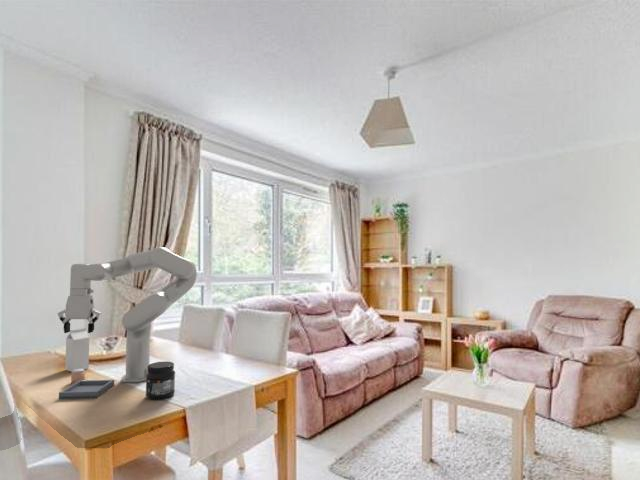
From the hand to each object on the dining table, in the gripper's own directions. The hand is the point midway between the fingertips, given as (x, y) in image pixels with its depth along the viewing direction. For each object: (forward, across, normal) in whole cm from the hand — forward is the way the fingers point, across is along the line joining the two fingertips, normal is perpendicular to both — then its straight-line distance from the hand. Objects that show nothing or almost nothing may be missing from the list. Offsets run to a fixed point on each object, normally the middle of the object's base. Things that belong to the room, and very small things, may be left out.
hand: (78, 332), depth 164 cm
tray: (+21, -10, +12) cm, 27 cm away
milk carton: (+22, +11, -20) cm, 31 cm away
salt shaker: (+21, 0, 0) cm, 21 cm away
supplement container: (+21, -40, +18) cm, 49 cm away
